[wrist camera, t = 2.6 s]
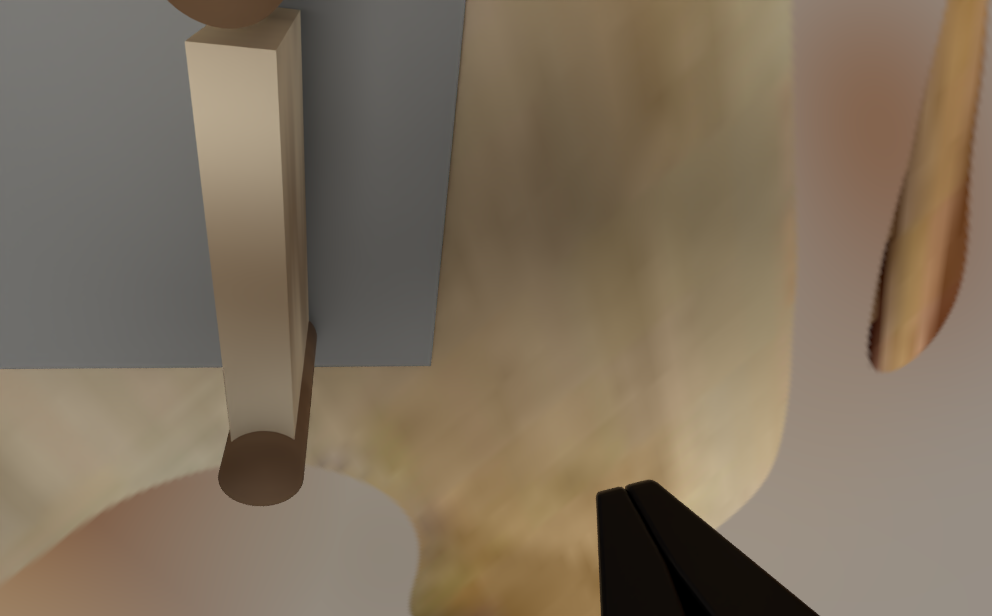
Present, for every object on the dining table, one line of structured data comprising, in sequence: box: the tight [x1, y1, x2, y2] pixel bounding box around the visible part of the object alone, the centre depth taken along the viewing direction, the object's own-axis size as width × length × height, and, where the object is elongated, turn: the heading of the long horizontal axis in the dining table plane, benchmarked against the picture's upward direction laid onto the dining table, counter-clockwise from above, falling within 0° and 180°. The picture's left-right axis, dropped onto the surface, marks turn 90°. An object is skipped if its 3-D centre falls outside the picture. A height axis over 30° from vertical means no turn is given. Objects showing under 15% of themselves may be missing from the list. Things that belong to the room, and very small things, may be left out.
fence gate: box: [185, 7, 317, 506], centre depth 13 cm, size 9×2×5 cm, turn 172°
